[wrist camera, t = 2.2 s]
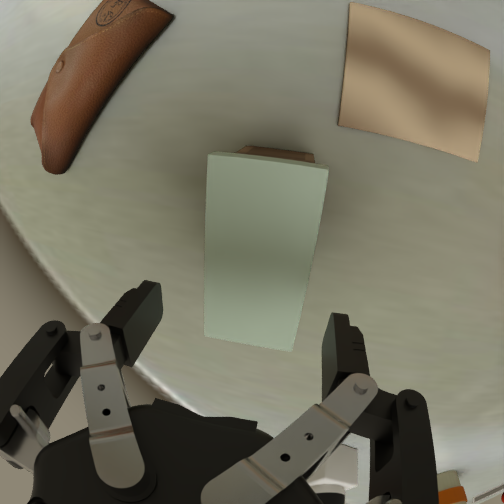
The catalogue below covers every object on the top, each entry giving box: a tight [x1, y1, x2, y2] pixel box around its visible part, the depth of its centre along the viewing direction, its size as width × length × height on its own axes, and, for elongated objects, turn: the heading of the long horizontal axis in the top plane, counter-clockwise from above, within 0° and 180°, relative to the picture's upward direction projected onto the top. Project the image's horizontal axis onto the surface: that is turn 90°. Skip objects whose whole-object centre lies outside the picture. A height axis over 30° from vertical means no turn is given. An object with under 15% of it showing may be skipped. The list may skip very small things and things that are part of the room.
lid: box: [204, 151, 329, 352], centre depth 18 cm, size 12×6×2 cm, turn 175°
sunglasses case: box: [31, 0, 174, 175], centre depth 20 cm, size 18×7×7 cm
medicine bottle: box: [307, 444, 358, 504], centre depth 35 cm, size 7×7×12 cm
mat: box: [338, 2, 490, 163], centre depth 17 cm, size 10×12×1 cm
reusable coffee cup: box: [437, 471, 467, 504], centre depth 38 cm, size 13×12×15 cm
